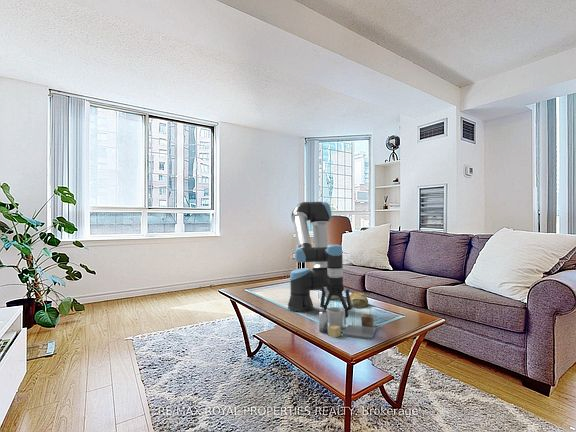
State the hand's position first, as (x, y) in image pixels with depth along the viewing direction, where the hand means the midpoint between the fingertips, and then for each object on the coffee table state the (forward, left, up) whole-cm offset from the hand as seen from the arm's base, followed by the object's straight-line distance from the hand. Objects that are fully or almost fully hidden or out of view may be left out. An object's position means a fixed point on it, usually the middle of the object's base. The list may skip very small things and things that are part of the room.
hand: (336, 322), depth 147 cm
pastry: (+3, +42, -2) cm, 42 cm away
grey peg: (-4, -8, -2) cm, 10 cm away
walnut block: (+14, +7, -2) cm, 16 cm away
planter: (-16, +54, -2) cm, 56 cm away
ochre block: (+2, -11, -2) cm, 12 cm away
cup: (-1, 0, -1) cm, 2 cm away
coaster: (+12, -4, -2) cm, 13 cm away
